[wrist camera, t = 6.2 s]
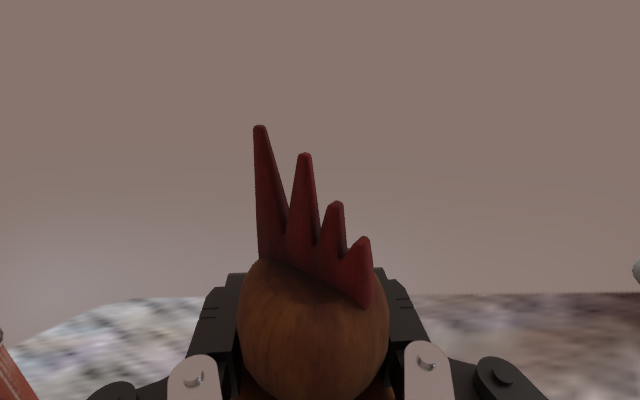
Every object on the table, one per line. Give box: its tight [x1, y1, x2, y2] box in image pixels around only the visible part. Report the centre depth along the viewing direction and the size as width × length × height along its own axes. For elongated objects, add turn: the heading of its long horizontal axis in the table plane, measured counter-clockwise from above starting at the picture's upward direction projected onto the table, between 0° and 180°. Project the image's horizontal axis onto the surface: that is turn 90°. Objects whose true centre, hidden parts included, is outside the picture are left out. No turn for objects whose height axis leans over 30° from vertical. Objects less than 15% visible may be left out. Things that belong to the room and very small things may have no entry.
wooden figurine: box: [230, 125, 395, 400], centre depth 10 cm, size 7×6×15 cm
